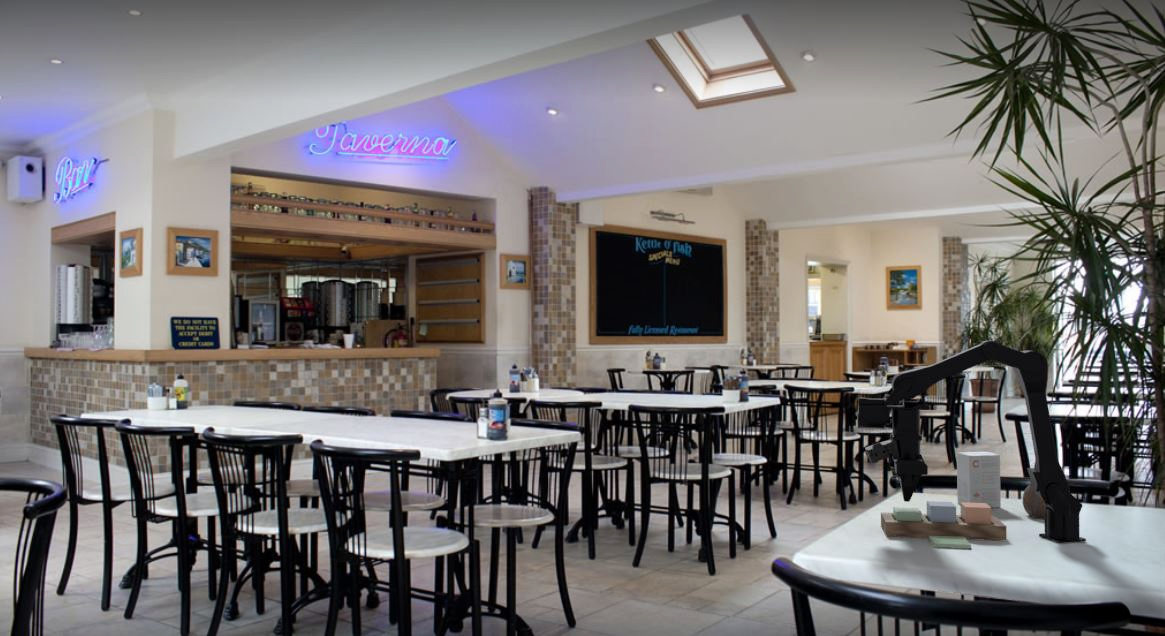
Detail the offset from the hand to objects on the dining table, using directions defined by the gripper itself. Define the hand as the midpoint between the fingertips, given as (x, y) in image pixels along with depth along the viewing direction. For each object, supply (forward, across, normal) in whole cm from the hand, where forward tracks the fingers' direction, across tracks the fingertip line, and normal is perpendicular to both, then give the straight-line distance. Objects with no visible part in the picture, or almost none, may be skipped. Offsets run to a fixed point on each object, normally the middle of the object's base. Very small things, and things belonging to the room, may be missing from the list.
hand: (906, 501), depth 202 cm
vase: (+7, -22, +32) cm, 40 cm away
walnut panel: (+7, 0, +7) cm, 10 cm away
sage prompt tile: (+7, +10, +7) cm, 14 cm away
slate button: (+4, 0, +7) cm, 8 cm away
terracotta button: (+4, 0, +14) cm, 15 cm away
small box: (+7, -32, +21) cm, 39 cm away
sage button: (+6, 0, 0) cm, 6 cm away
